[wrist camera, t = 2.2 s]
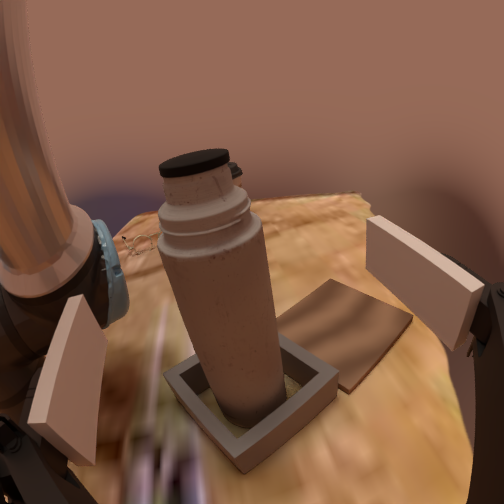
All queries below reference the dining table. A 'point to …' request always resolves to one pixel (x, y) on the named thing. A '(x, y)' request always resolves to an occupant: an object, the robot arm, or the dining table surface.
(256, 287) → the thermos bottle
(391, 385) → the dining table surface
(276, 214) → the dining table surface
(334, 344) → the board
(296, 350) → the collar
